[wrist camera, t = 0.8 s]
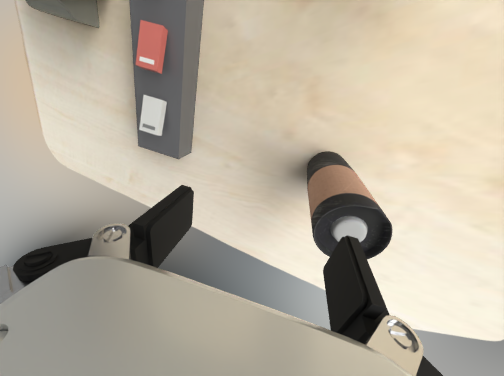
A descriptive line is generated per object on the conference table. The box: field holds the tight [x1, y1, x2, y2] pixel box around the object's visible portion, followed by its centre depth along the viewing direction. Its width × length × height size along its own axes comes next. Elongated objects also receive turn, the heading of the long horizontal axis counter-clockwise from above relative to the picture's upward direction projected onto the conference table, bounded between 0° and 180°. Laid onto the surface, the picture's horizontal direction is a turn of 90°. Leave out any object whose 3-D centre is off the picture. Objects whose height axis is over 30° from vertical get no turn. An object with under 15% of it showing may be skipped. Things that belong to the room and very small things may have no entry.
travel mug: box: [307, 152, 392, 259], centre depth 28 cm, size 8×8×20 cm
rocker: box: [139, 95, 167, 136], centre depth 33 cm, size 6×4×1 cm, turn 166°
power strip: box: [130, 0, 204, 159], centre depth 30 cm, size 40×9×5 cm, turn 166°
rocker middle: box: [136, 20, 168, 74], centre depth 28 cm, size 6×4×1 cm, turn 166°
